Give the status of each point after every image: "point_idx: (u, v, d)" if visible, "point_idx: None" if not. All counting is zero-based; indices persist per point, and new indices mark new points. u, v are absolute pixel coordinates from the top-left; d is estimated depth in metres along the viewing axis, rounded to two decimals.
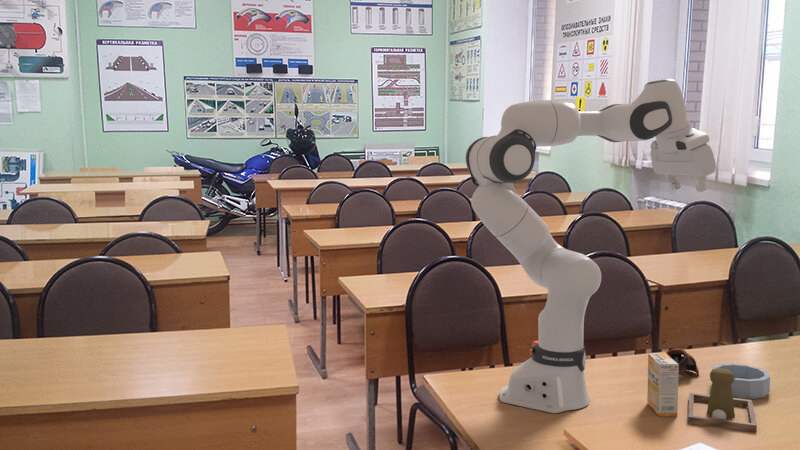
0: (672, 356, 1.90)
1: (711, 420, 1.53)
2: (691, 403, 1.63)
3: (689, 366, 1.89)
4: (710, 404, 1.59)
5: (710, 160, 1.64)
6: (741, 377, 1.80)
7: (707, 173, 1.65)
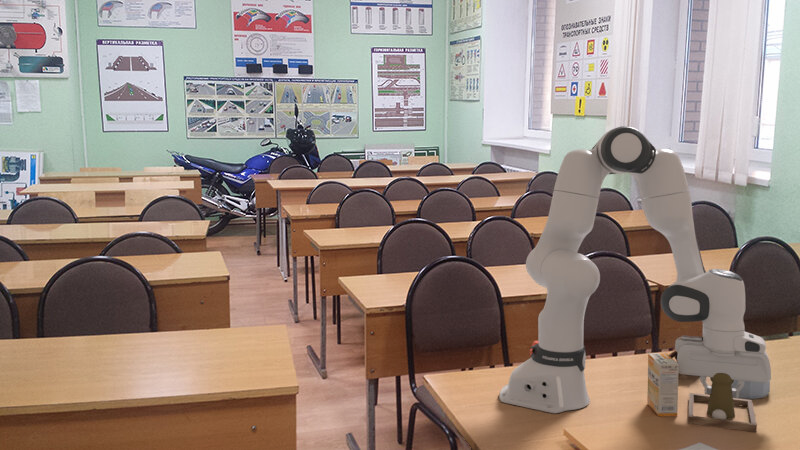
0: None
1: (711, 420, 1.53)
2: (691, 403, 1.63)
3: None
4: (710, 404, 1.59)
5: None
6: None
7: (770, 379, 1.54)
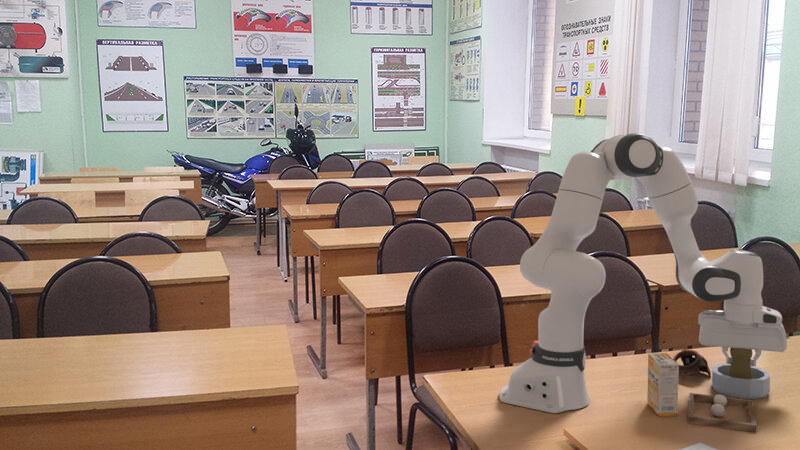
0: (683, 357, 1.89)
1: (711, 420, 1.53)
2: (691, 403, 1.63)
3: (700, 367, 1.88)
4: None
5: None
6: None
7: (785, 349, 1.69)
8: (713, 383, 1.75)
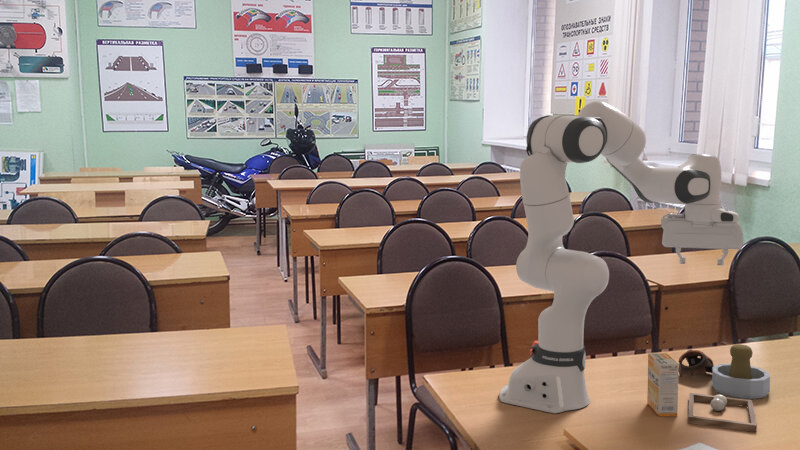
0: (689, 358, 1.89)
1: (711, 420, 1.53)
2: (691, 403, 1.63)
3: (706, 367, 1.88)
4: None
5: None
6: None
7: (742, 246, 1.78)
8: (713, 383, 1.75)
